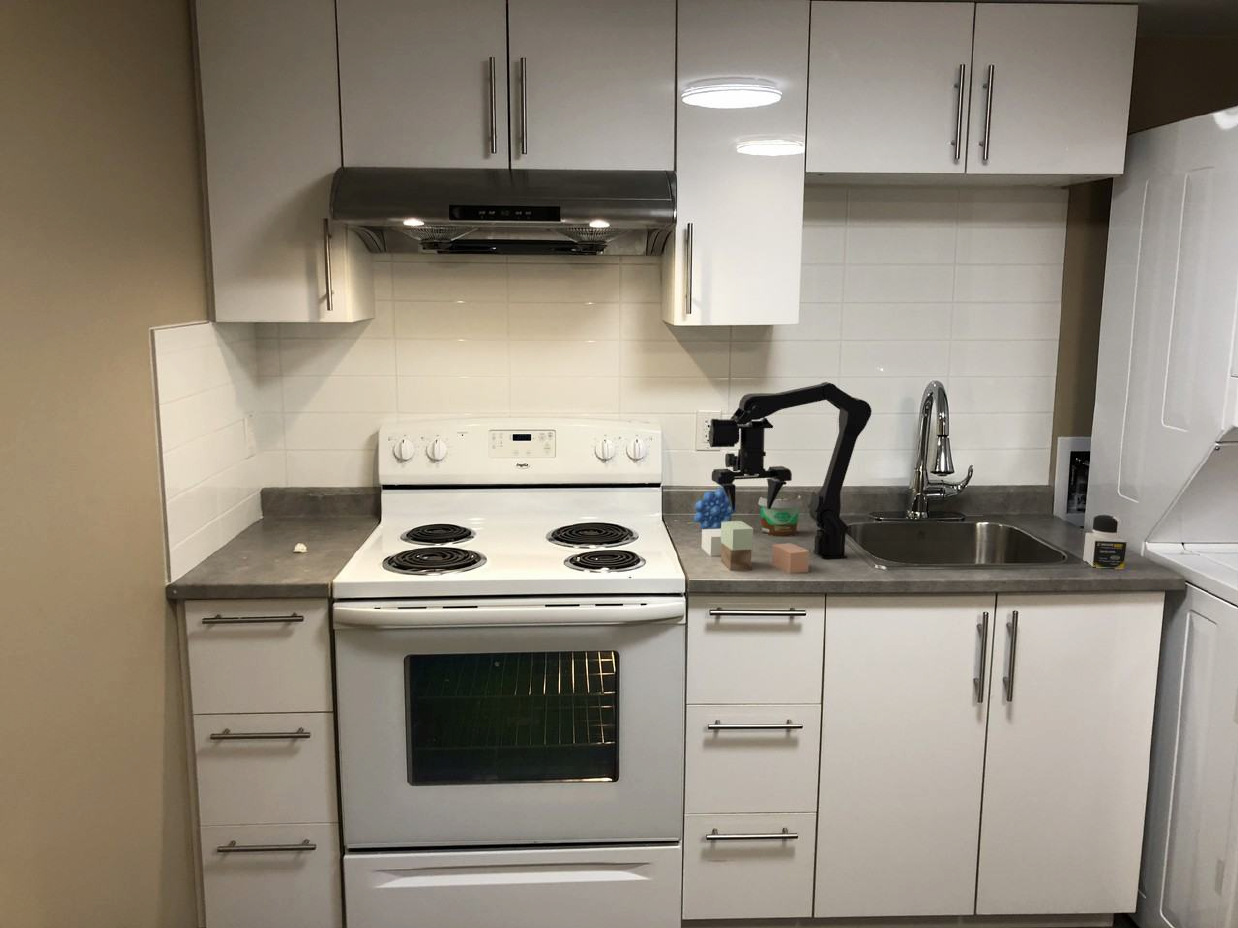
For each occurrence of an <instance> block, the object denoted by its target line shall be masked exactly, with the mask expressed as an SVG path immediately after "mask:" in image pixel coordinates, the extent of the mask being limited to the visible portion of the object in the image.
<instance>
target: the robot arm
mask: <svg viewBox="0 0 1238 928" xmlns="http://www.w3.org/2000/svg"><path fill="white" fill-rule="evenodd" d="M822 401H827V402H828V403H830V405H832V406H833V407H835V408H836V409H838V410H839V414H838V433H837V438H836V442H835V444H834V448H833V451H832V454H831V458H830V462H829V465H828V468H827V471H826V475H825V479H824V481H823V484H822V487H821V488H820V490H818V492H816V491H812V492H811V498H810V502H809V503H808V504H807V507H808V508H809V511H808V514H809V516H810V518H811V519H812V520H813V522H815V523H816V527H817V528H819V529H816V535H815V536H814V545H813V546H814V549H813V554H815V555H816V556H819V557H820V558H821V559H842V558H845V559H846V558H848V555H847V554H846V553H845V551H846V550H845V549H846V548H845V547H846V534H847V532H848V530H849V526H848V525H847V524H846V523H845V522H844V521H843V519H842V518H841V516H840V515H841V508H842V502H841V501H842V500H841V491H842V488H843V485H844V482H845V479H846V475H847V473H848V472H847V471H848V470H849V465H850V463H851V458H852V455H853V453H854V450H855V446H856V443H857V439H858V438H859V436H860V435H861V433H862V432H863V431H864V429H865V428H866V426H867V425H868V422H869V420H870V418H871V416H872V407H871V405H870V404H869V403H868V402H867V401H866V400H865V399H861V398H858V397H854V396H852V395H850V394H848V393H847V392H845V391H843V389H840V388H839V387H837V385H835V384H834V383H831V382H828V381H824V382H821V383H820V384H814V385H809V386H805V387H799V388H796V389H790V390H785V391H781V392H776V393H775V392H773V393H763V392H760V393H757V392H756V393H755V392H753V393H747V394H744V395H743V396H742V397H741V399H740V400H739V404H738V405H739V406H738V408H737V409H736V411H735V412H734V413H733V415H732V416H730V418H729V419H728V418H727V419H720V418H711V419H710V425H709V430H708V444H709V447H710V448H734V447H735V446H736V445H737V444H738V443H739V444H740V446H739V447H740V448H739V449H738V451H737V452H738V453H737V455H735V453H732V452H731V453H726V454H725V456H724V457H725V458H724V459H725V460H724V462H725V467H726V468H714V469H713V471H711V481H712V482H714V483H716V484H717V485H718V486H720V487H722V489H724V490H725V493H726V494H725V495H727V498H728V501H729V504H730V507H731V510H732V511H735V505H736V487H737V486H736V484H734V482H735V480H752V479H753V480H754V479H766V481H767V496H766V497H767V498H766V499H767V508H768V509H770V508H771V506H772V504H773V502H774V500H775V499H776V498H777V495H778V494H779V493H780V491H781V489H782V488H783V486H785V485H787V482H792V478H793V476H792V475H793V473H792V470H790V468H789V467H785V466H783V465H778V466H775V465H773V466H769V467H768V469H766V468H764V465H765V457H766V456H767V452H766V451H765V429H773V428H774V425H773V424H772V423H771V422H770V421H769V420H768V418H767V417H769V416H772V414H775V413H777V412H779V411H781V410H785V409H789V408H794V407H798V406H804V405H808V404H814V403H818V402H822ZM729 468H732V469H729Z"/></svg>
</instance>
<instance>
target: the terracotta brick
mask: <svg viewBox="0 0 1238 928" xmlns="http://www.w3.org/2000/svg"><path fill="white" fill-rule="evenodd" d="M771 548H772V550H771V551H772V552H771V565H772V566H773V567H776V568H778V569H779V570H781V571H783V572H785V573H788V574H798V573H807V572H809V562H810V561H809V560H810V551H809V550H807V549H805V548H803V547H800V546H798V545H795V544H794V543H791V542H789V543H788V542H787V543H779V544H772V547H771Z"/></svg>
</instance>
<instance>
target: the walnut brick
mask: <svg viewBox="0 0 1238 928" xmlns="http://www.w3.org/2000/svg"><path fill="white" fill-rule="evenodd" d="M752 550H753V549H751V550H734V551H732V550H731V549H730V548H728V547H727V546H725V545H724V544H723V543H722V545H721V556H720V562H721V563H722V564H723V565H724V566H725V567H726V568H727V569H728V570H729V571H731V572H732V571H733V572H734V571H735V572H737V571H751V569H752Z"/></svg>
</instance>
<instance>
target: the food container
mask: <svg viewBox="0 0 1238 928" xmlns="http://www.w3.org/2000/svg"><path fill="white" fill-rule="evenodd" d="M758 505H759V506H760V517H761V518H760V519H761V531H762V532H761V533H762V534H763V533H764V535H766V534H768V535H767V536H771V535H773V537H791V536H790V535H792V536H794V534H795V535H796V534H797V528H798V520H799V514H800V509H801V508H800V507H801V506H802V507H803V500H802V497H801V495H797V497H795V498H786V497H785V498H784V497H778V498H777V497H776V498H775V500H774V502H773V504H772V506H771V508H770V509H768V508H767V498H764V497H761V496H760V497H759V500H758Z"/></svg>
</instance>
